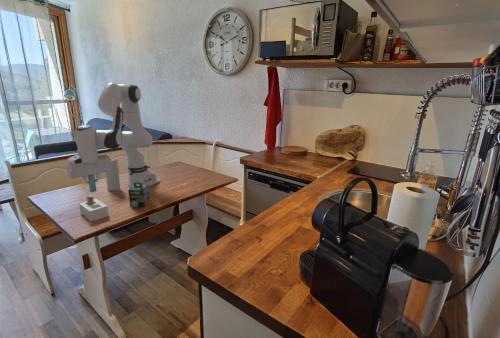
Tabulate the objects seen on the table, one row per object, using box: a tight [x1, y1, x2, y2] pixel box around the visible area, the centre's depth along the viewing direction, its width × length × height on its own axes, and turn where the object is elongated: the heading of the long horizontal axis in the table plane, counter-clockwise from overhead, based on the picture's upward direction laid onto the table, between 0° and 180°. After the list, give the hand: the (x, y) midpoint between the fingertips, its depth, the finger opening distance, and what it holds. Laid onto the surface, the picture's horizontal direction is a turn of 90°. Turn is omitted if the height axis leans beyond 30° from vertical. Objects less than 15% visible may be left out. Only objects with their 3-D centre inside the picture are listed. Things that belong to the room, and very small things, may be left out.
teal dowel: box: [87, 174, 98, 193], centre depth 141 cm, size 3×3×10 cm
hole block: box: [78, 198, 110, 222], centre depth 148 cm, size 9×14×6 cm, turn 51°
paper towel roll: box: [105, 158, 121, 192], centre depth 181 cm, size 7×6×21 cm
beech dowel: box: [86, 195, 94, 205], centre depth 150 cm, size 3×3×10 cm
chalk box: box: [127, 183, 151, 208], centre depth 161 cm, size 9×9×15 cm
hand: (92, 182), depth 141 cm, fingers closed on teal dowel, 3 cm apart
